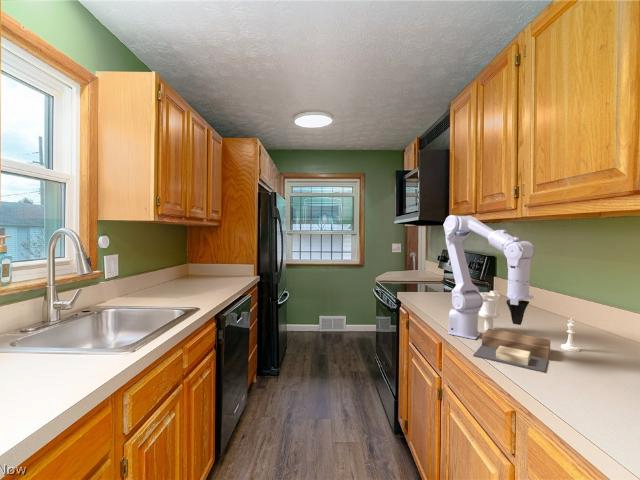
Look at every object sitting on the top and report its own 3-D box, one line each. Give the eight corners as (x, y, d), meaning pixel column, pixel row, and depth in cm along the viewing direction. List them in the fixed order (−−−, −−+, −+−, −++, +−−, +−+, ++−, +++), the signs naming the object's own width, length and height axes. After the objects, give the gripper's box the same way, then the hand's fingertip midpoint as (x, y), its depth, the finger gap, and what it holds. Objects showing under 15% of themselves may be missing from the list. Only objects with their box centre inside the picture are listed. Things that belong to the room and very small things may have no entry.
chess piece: (577, 353, 103) (578, 321, 102) (558, 348, 107) (559, 318, 106) (581, 349, 106) (582, 319, 106) (563, 345, 110) (564, 315, 109)
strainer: (503, 331, 124) (504, 292, 123) (489, 333, 121) (490, 293, 121) (487, 326, 130) (488, 289, 130) (474, 328, 128) (475, 290, 127)
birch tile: (499, 345, 101) (499, 352, 101) (495, 351, 97) (495, 358, 97) (530, 351, 96) (530, 359, 96) (527, 357, 92) (527, 365, 92)
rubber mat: (473, 356, 99) (473, 354, 99) (481, 346, 108) (481, 345, 108) (544, 372, 88) (544, 371, 88) (547, 360, 96) (547, 359, 96)
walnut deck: (481, 346, 108) (481, 335, 108) (488, 338, 116) (488, 328, 116) (547, 360, 97) (548, 348, 97) (550, 350, 105) (550, 339, 104)
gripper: (530, 285, 93) (529, 332, 93) (536, 279, 104) (534, 321, 104) (502, 282, 97) (501, 327, 97) (511, 276, 108) (509, 317, 109)
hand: (516, 324), depth 101 cm, fingers closed
